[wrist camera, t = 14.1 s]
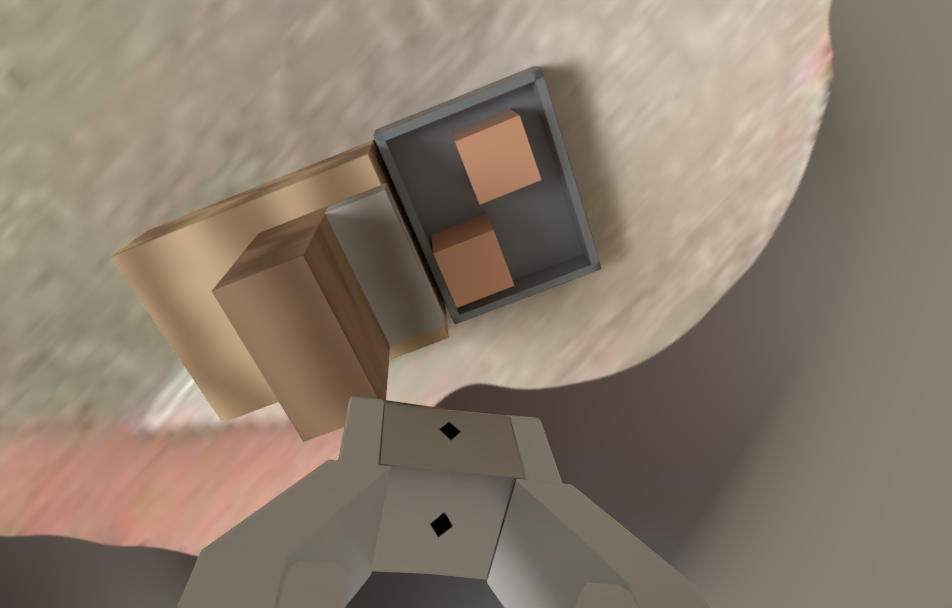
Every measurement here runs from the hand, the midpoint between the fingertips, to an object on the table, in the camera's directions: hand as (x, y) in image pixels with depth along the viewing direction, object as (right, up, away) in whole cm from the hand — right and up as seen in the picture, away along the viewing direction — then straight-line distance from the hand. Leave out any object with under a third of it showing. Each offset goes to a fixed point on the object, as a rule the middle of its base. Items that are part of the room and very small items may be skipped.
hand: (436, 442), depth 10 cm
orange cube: (+2, +12, +30) cm, 33 cm away
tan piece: (-13, +5, +37) cm, 40 cm away
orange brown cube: (-2, +5, +35) cm, 36 cm away
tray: (+2, +10, +36) cm, 38 cm away
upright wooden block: (-8, +4, +31) cm, 33 cm away
